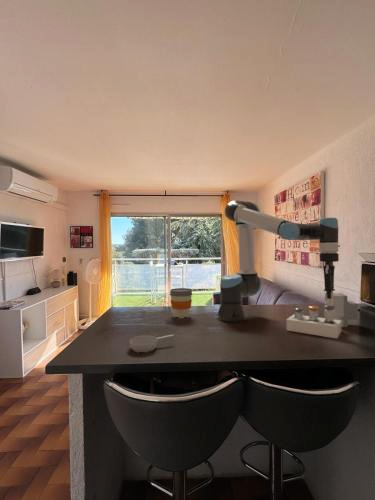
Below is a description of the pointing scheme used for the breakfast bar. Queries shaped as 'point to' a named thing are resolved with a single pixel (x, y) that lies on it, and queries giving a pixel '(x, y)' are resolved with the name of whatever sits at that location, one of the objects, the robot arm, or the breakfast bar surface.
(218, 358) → the breakfast bar surface
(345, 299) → the circuit breaker
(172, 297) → the reusable coffee cup
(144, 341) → the small pan
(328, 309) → the plunger right
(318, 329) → the panel
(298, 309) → the plunger left
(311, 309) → the plunger mid
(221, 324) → the breakfast bar surface
